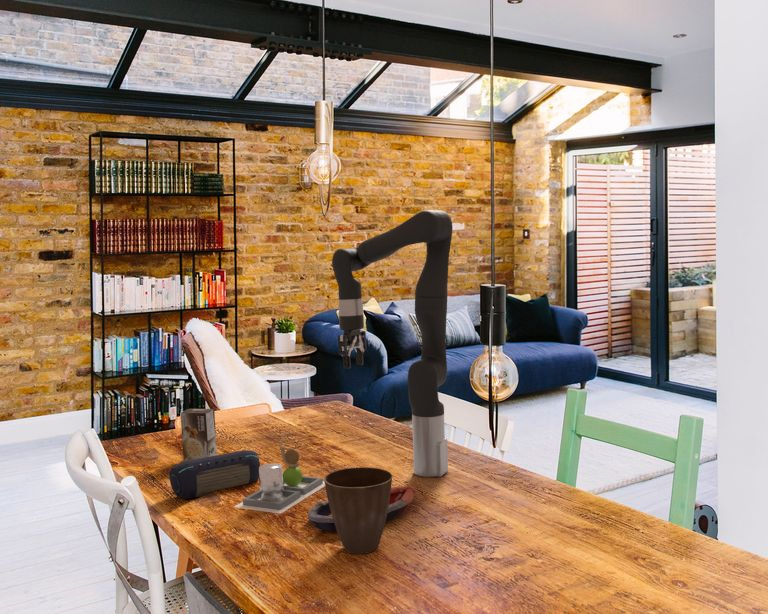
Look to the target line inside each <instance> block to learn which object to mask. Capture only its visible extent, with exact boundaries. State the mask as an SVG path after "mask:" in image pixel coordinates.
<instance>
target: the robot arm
mask: <svg viewBox="0 0 768 614" xmlns="http://www.w3.org/2000/svg"><path fill="white" fill-rule="evenodd" d="M452 237H453V222H452V219H451V216H450V215H449V214H448V213H447V212H446V211H444V210H437V209H423V210H421V211H420V212H417V213H416V214H414V215H412V216H411V217H409V218H408V219H406V220H405V221H404V222H402V223H401V224H399V225H397V226H395V227H394V228H391V229H389V230H388V231H387V230H386V231H384V232H383V233H380V234H378V235H374V236H373V237H369V238H368V239H365V240H363V241H362V242H360V243H359V245H358V246H356V247H352V248H349V247H348V248H339V249H337V250H335V252H333V255H332V257H331V267H332V270H333V271H332V272H333V273H334V277H335V280H336V283H337V286H338V322H339V323H338V324H339V326H338V327H339V330H340V331H343V334H338V336H337V351H338V353H337V354H338V355H339V356H341V357H342V366H343V367H342V368H343V369H345V370H347V369H351V365H352V364H351V352H352V351H353V350H355V364H356V366H362V365H364V352H365V351H367V347H368V346H367V337H366V336H367V333H366V331H365V330H363V329H364V328H365V320H364V303H363V299H362V298H363V296H362V295H363V294H362V284H361V281H360V280H358V279H356V278H354V275H353V272H357V271H361V270H364V269H365V268H367V267H368V266H370V265H371V264H373V263H376V262H378V261H381V260H383V259H386V258H389V257H391V255H394V254H396V252H398V251H399V250H401V249H402V248H404V247H407V246H412V245H416V244H422V243H425V244H426V255H425V256H426V257H425V262H424V265H423V268H422V271H421V272H420V275H419V278H418V280H417V283H416V286H415V294H414V314H415V315H414V317H415V319H416V323H417V326H418V328H419V332H420V335H421V354H420V359H418V360H416V361H413V363H411V364H410V366H409V368H408V371H407V391H408V403H409V406H410V408H411V421H412V424H411V425H412V458H413V474H415V475H416V476H420V477H424V478H427V477H428V478H430V477H442V476H443V475H444V474H446V473H447V472H448V471H449V461H448V460H449V458H448V457H449V456H448V454H449V452H448V439H447V438H446V434H445V433H446V431H445V429H446V428H445V406H444V403H443V402H441V401H440V399H439V390H438V389H439V388H440V387H441V386H442V385H443V384H445V382H446V380H447V376H448V362H447V361H448V360H447V359H448V358H447V351H446V350H447V348H446V337H447V335H446V334H447V313H448V280H449V260H450V253H451V245H452Z"/></svg>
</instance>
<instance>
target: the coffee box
mask: <svg viewBox="0 0 768 614" xmlns="http://www.w3.org/2000/svg"><path fill="white" fill-rule="evenodd" d="M215 419H216V415H215V408H188V409H185V410H183V411H182V412H180V425H181V426H180V428H181V443H182V445H181V446H182V455H183V456H182V457H183V459H182V460H183V462H184V461H189V460H194V459H200V458H205V457H210V456H216V455H218V450H217V449H218V447H217V431H216V420H215Z"/></svg>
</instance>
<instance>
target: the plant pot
mask: <svg viewBox="0 0 768 614" xmlns="http://www.w3.org/2000/svg"><path fill="white" fill-rule="evenodd" d="M323 481H324V482H325V486H324V487H325V491H326V498H327V501H328V502H329V506H330V510H331V513H330V515H331V516H332V517H333V520H334V524H335V526H336V529H337V531H336V532H337V535H338V537H339V539H340V541H341V544H342V546H343V548H344V551H346V552H347V553H350V554H354V555H365V554H370V553H372V552H375V551H376V550H377V549H378V547H379V545H380V541H381V538H382V536H383V532H384V528H385V524H386V522H387V521H386V517H387V512H388V507H389V501H390V494H391V487H392V483H393V474H392V473H391V472H390V471H388V470H385V469H383V468H377V467H364V466H359V467H349V468H347V467H346V468H342V469H338V470H334V471H331V472H329V473H328V474H326V475H325V476H324V478H323ZM385 521H386V522H385Z"/></svg>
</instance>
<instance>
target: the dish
mask: <svg viewBox="0 0 768 614" xmlns="http://www.w3.org/2000/svg"><path fill="white" fill-rule="evenodd" d="M415 492H416V490H415V488H414V487H411V486H410V485H409V486H391V494H390V501H389V507H388V512H387V517H386V521H385V523H386V522H388V521H391V520H394V519H395V518H397V517H399V516H402V515H404V513H406V511H407V510H408V508H409V507H410V505H411V503H412V501H413V498H415V497H414V496H415ZM307 518H308V520H309V521H310V524H311V525H312V526H314V527H316V529H317V530H319V531H326V532H327V531H328V532H333V531H334V532H337V529H336V526H335V524H334V520H333V517H332V515H331V510H330V506H329V502H328V500H324V501H317V502H316V504H315V505H313V506H312V507H311V508H310V510H309V511H308V513H307Z"/></svg>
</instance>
